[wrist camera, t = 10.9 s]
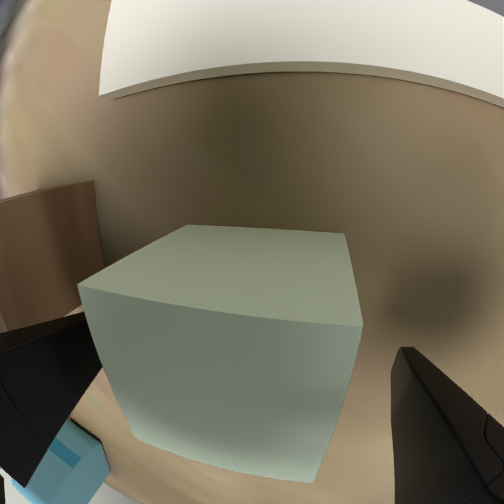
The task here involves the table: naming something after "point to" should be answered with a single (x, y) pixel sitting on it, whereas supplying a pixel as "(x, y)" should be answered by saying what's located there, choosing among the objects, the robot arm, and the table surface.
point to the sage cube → (231, 344)
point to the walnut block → (46, 253)
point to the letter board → (305, 42)
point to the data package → (68, 469)
